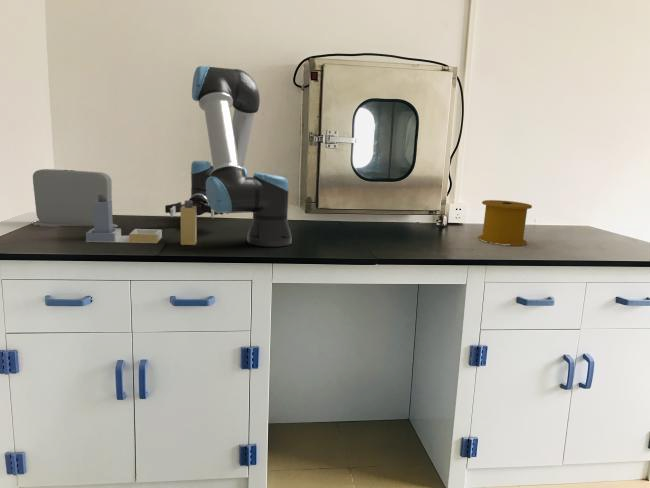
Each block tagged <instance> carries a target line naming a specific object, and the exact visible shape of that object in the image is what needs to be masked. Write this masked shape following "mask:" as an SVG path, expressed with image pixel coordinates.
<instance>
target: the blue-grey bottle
mask: <svg viewBox="0 0 650 488" xmlns="http://www.w3.org/2000/svg"><path fill="white" fill-rule="evenodd" d="M93 213H94V226H93V228H94V233H112V232H113V228H114V227H113V224H114V223H113V222H114V221H113V219H114V218H113V201H110V200H107V196H106V195H98V200H96V201H94V202H93Z"/></svg>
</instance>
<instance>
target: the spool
mask: <svg viewBox="0 0 650 488" xmlns="http://www.w3.org/2000/svg"><path fill="white" fill-rule="evenodd" d="M481 204H482V205H485V209H484V210H485V211H484V217H483V218H484V220H483V226H482V227H483V228H482V234H480V235H478V237H477V239H478V238H479V239H481V240H484V241H487V242H492V243H499V244H510V245H522V244H526V243H527V244H528V242H527V240H525V239H524V236H525V228H526V221H527V215H528V209H529V210H530V209H532V208H533V205H532V204H529V203H525V202H521V201H520V202H519V201H513V200H512V201H511V200H510V201H509V200H502V199H501V200H500V199H497V200H496V199H488V200H487V199H486V200H482V201H481ZM479 239H478V240H479ZM527 244H526V245H527Z"/></svg>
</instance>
